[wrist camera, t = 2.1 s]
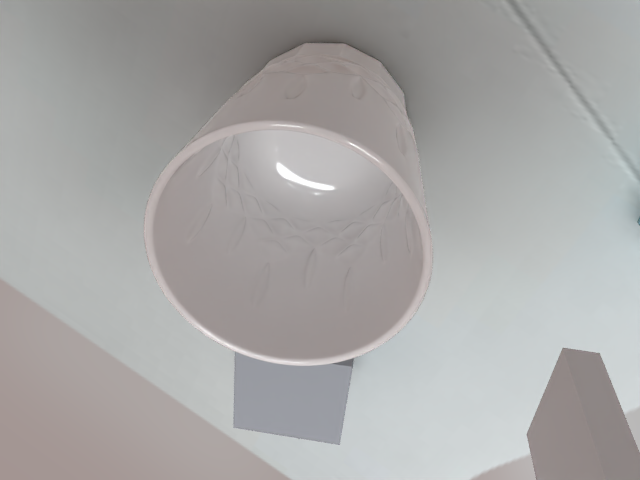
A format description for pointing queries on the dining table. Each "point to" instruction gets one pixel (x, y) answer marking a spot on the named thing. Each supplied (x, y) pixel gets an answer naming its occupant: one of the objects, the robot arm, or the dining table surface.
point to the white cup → (297, 213)
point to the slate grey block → (291, 398)
